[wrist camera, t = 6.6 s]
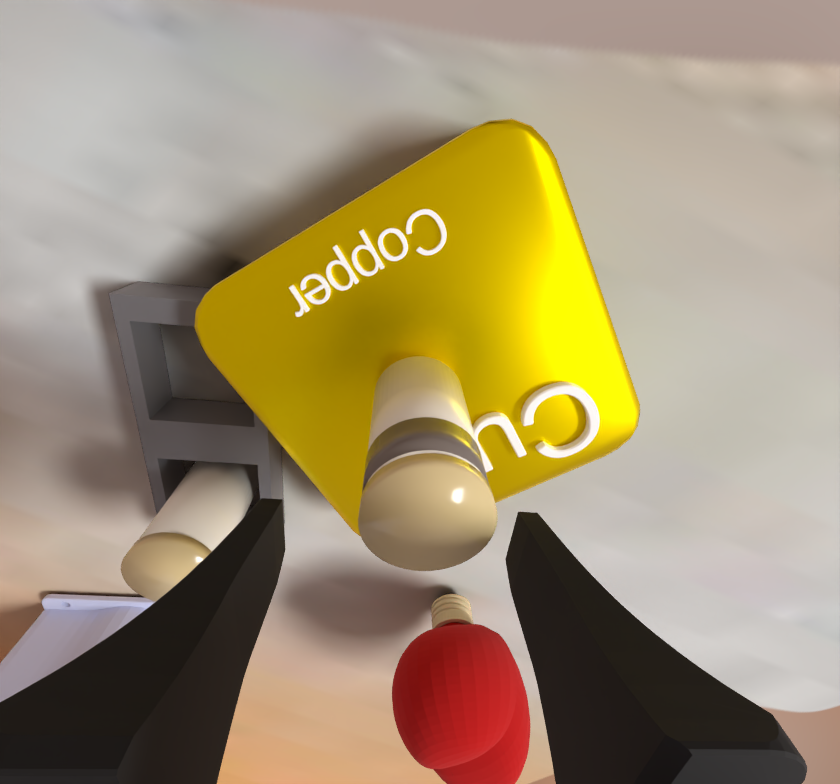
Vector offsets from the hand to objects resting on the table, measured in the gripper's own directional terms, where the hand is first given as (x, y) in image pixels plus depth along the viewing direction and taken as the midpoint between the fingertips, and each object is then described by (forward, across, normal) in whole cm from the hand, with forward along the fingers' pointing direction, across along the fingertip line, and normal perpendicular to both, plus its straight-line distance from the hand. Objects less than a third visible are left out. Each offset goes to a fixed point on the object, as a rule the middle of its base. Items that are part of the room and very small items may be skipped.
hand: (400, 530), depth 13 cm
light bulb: (+10, -5, +16) cm, 19 cm away
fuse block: (+10, +9, +3) cm, 14 cm away
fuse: (+10, +9, +6) cm, 15 cm away
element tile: (+11, -1, -2) cm, 11 cm away
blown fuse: (+6, -1, -2) cm, 6 cm away
